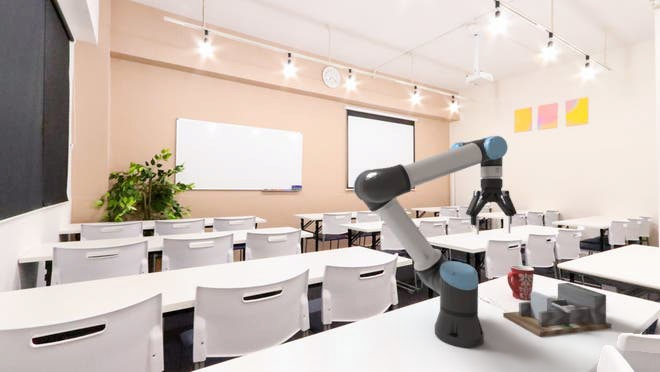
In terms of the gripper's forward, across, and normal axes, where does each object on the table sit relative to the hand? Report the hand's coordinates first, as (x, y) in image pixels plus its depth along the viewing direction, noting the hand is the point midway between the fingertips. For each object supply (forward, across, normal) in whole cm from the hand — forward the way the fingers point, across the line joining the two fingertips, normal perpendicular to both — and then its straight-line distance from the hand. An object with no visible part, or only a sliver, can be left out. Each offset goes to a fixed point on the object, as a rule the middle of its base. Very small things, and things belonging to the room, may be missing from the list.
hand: (491, 233), depth 119 cm
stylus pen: (+32, +9, +11) cm, 35 cm away
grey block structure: (+32, +19, -9) cm, 38 cm away
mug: (+32, +26, +15) cm, 44 cm away
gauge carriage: (+30, +16, -11) cm, 36 cm away
